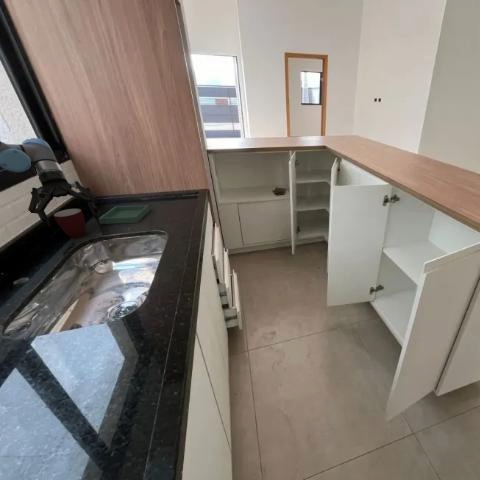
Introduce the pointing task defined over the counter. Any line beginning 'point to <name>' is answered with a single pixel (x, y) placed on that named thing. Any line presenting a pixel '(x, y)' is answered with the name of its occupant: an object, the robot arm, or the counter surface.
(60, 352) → the counter surface
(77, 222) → the mug
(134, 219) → the tray
